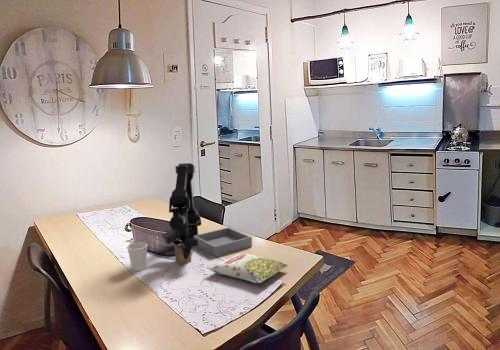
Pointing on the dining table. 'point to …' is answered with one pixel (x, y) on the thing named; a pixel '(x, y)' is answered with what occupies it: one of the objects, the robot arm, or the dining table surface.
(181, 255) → the walnut block
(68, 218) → the dining table surface
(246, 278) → the frozen beans
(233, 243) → the grey bin
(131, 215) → the dining table surface
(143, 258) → the dixie cup
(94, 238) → the dining table surface
